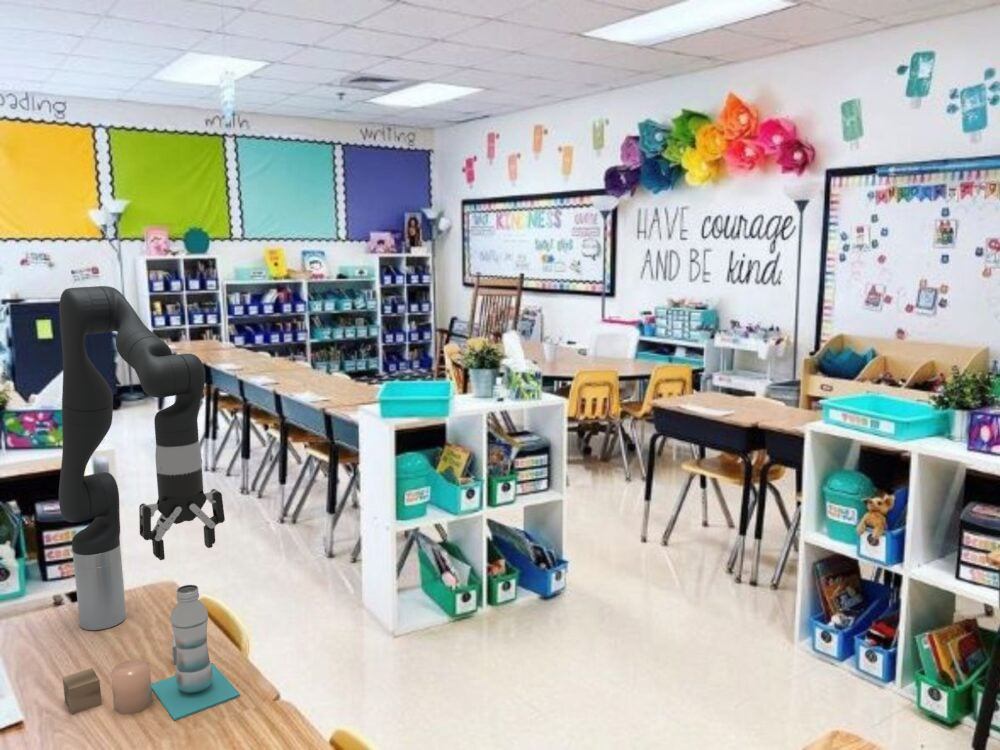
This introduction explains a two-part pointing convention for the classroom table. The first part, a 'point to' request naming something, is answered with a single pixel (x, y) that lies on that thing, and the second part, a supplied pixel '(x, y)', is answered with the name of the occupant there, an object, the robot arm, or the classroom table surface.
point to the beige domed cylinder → (131, 686)
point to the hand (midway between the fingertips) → (185, 552)
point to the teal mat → (193, 695)
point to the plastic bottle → (191, 641)
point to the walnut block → (82, 691)
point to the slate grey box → (174, 651)
